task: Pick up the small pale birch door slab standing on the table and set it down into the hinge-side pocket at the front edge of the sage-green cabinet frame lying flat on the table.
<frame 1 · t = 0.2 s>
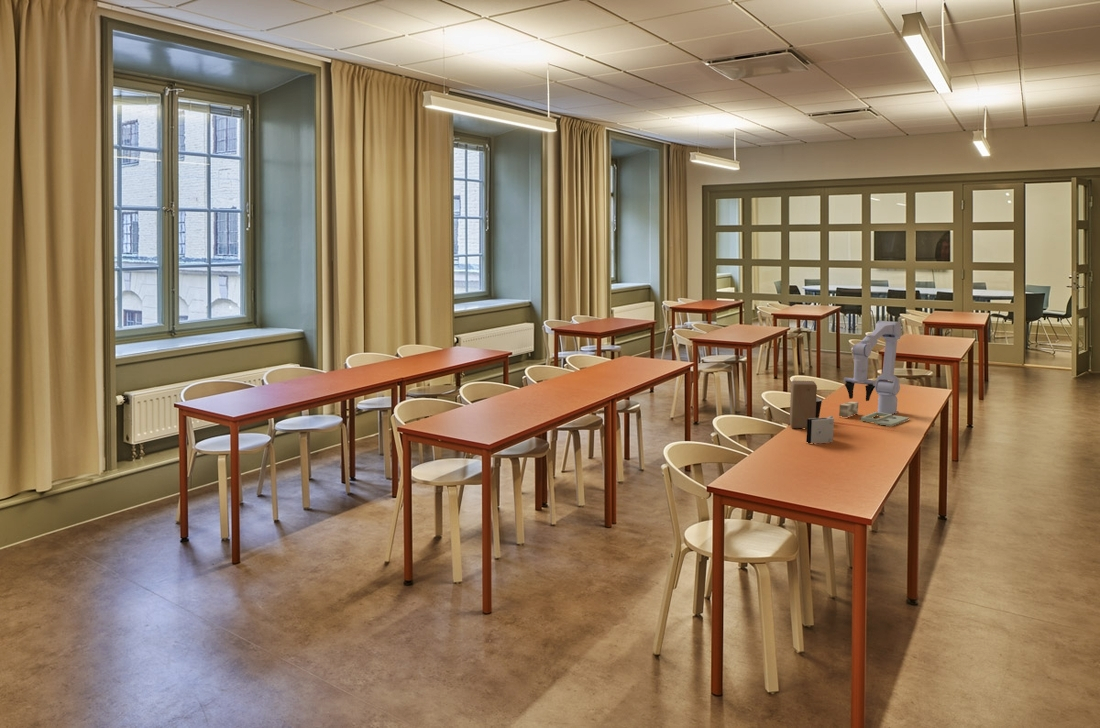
hand: (859, 399, 370), 10 cm above the table, tool pointing down, fingers open, 7 cm apart
birch door: (848, 416, 383), on the table
wooden block: (802, 427, 360), on the table
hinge: (821, 442, 333), on the table
sage cabinet frame: (884, 421, 371), on the table
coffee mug: (809, 420, 373), on the table
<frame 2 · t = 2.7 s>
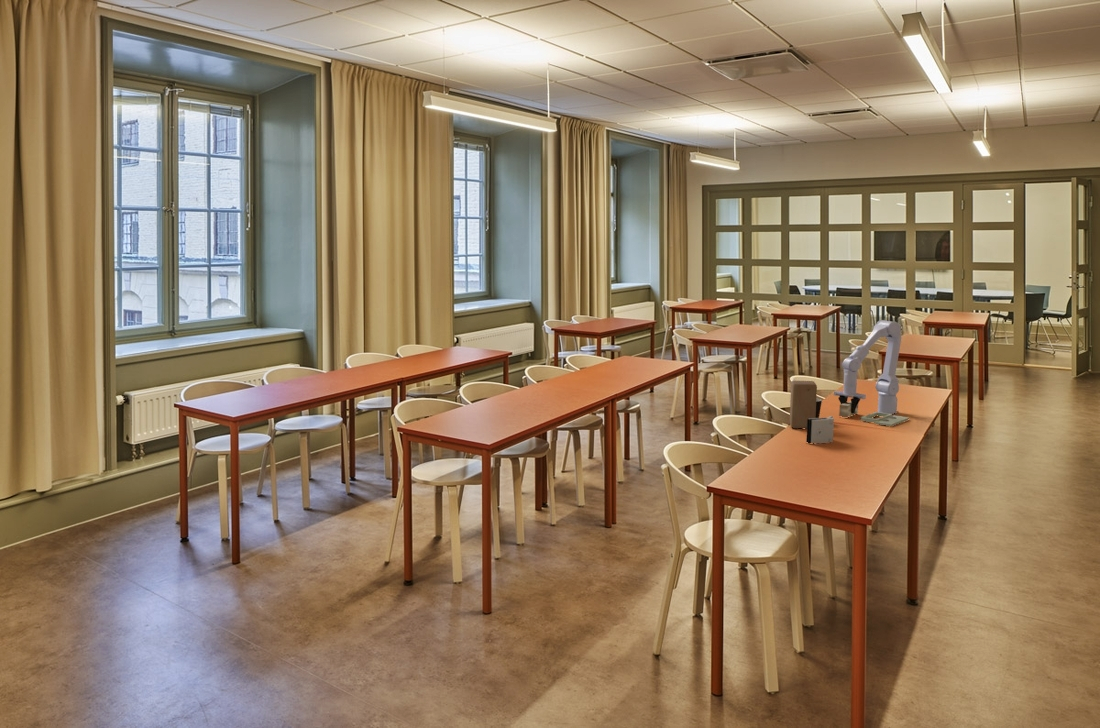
hand: (848, 412, 383), 2 cm above the table, tool pointing down, fingers closed on birch door, 3 cm apart
birch door: (848, 415, 383), on the table, touching gripper
everything else where it was.
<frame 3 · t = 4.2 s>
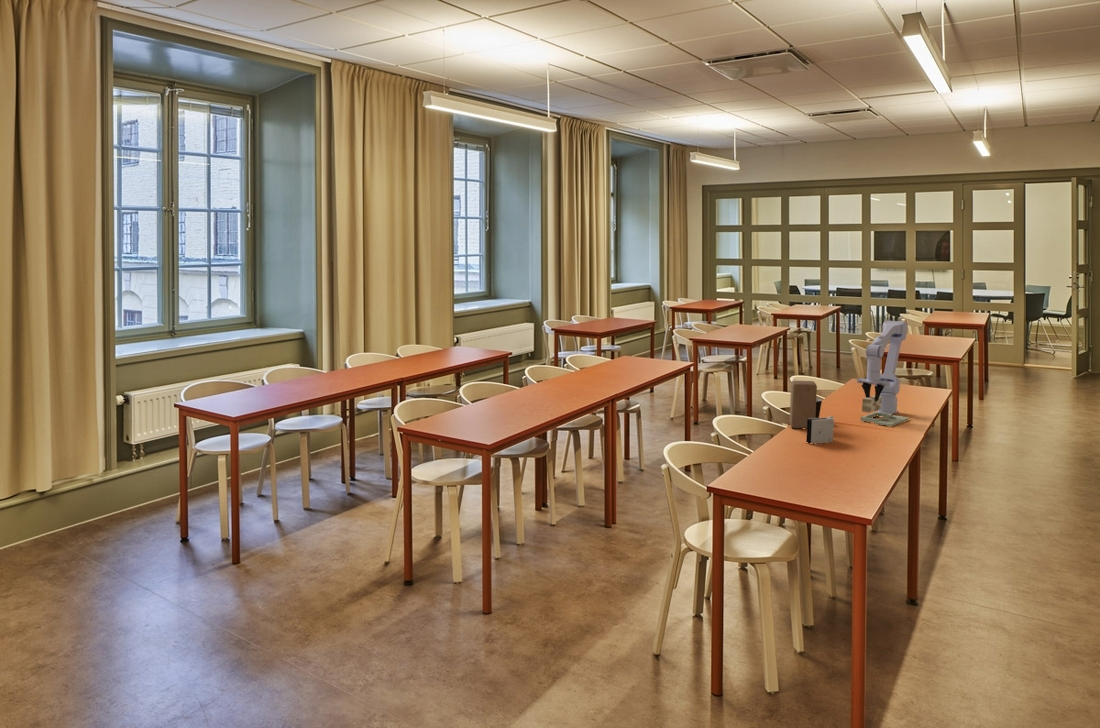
hand: (872, 400, 374), 9 cm above the table, tool pointing down, fingers closed on birch door, 3 cm apart
birch door: (871, 410, 375), point 4 cm above the table, touching gripper
everything else where it was.
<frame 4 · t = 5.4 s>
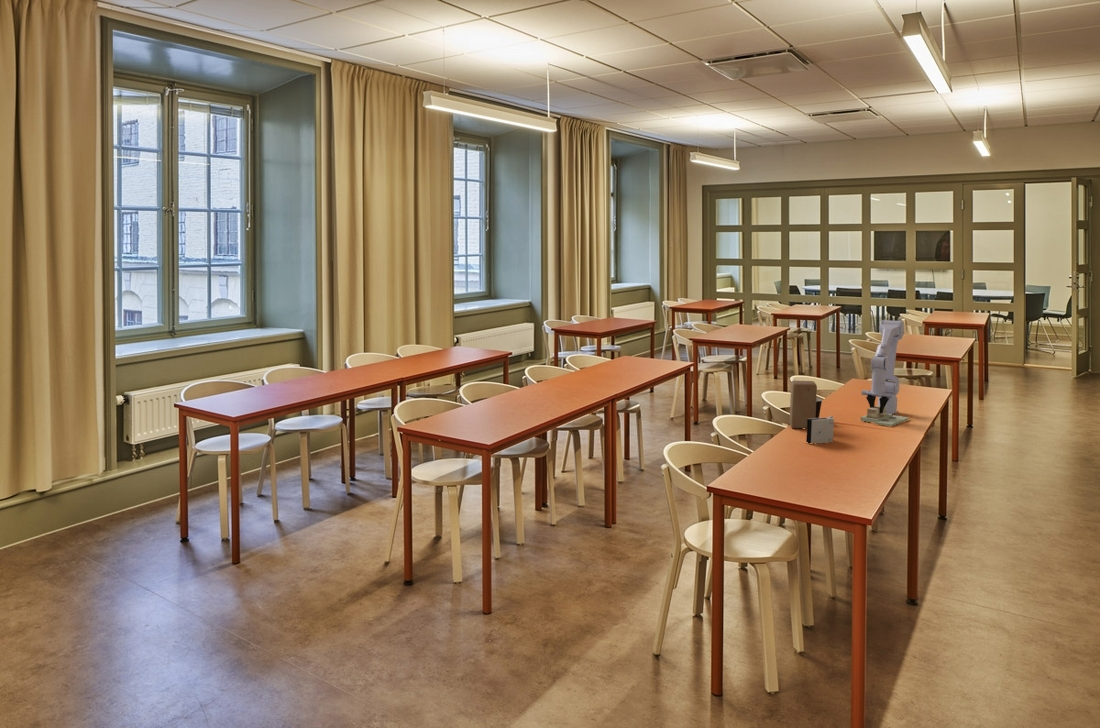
hand: (876, 412, 373), 4 cm above the table, tool pointing down, fingers closed on birch door, 3 cm apart
birch door: (876, 420, 374), resting in sage cabinet frame, touching gripper
everything else where it was.
when the fingers open (3 cm above the table, at t = 6.3 s): birch door stays where it is, resting in sage cabinet frame.
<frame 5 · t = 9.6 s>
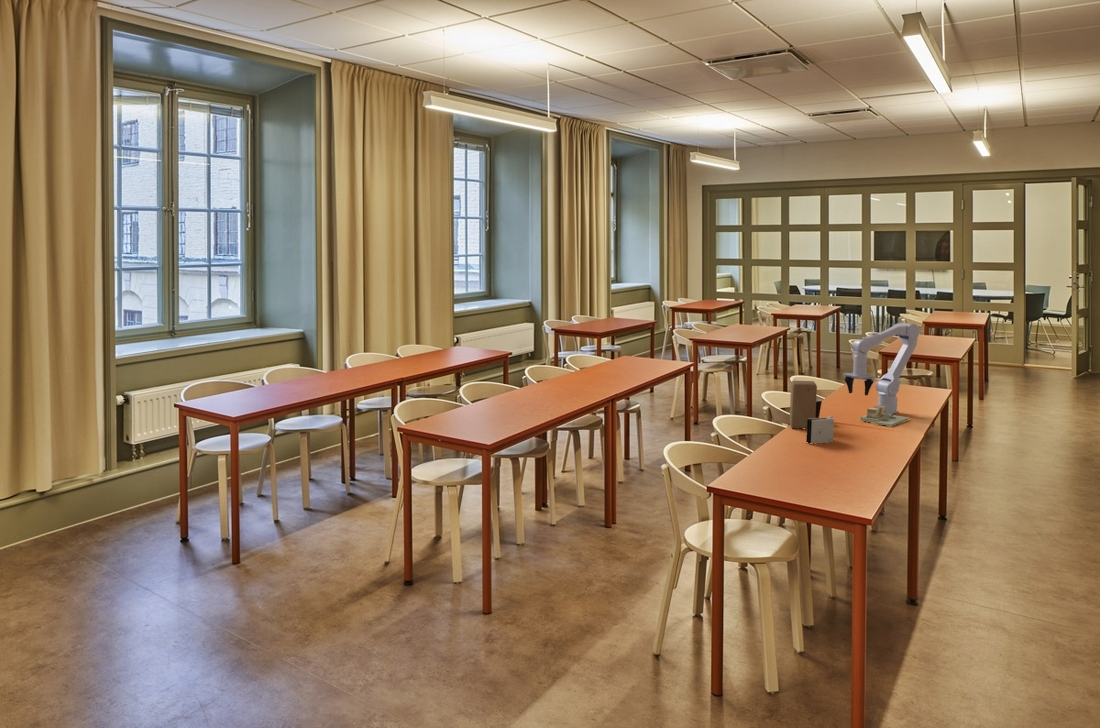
hand: (858, 394, 384), 10 cm above the table, tool pointing down, fingers open, 7 cm apart
birch door: (876, 420, 374), resting in sage cabinet frame
everything else where it was.
at the end: birch door inside the target area (0.3 cm from its centre), resting in sage cabinet frame; birch door tilted 0°; the gripper is holding nothing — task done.
